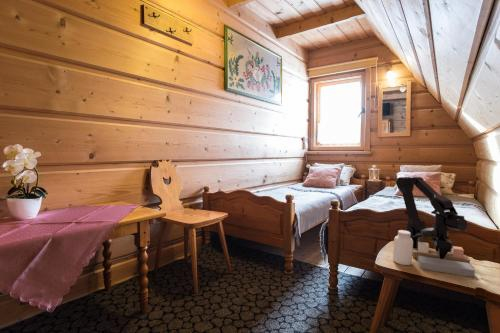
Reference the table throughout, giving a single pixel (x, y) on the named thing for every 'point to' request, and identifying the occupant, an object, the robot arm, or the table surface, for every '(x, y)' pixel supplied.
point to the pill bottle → (403, 248)
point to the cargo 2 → (457, 252)
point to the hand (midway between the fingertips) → (439, 255)
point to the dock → (446, 266)
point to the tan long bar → (436, 255)
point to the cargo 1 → (423, 247)
